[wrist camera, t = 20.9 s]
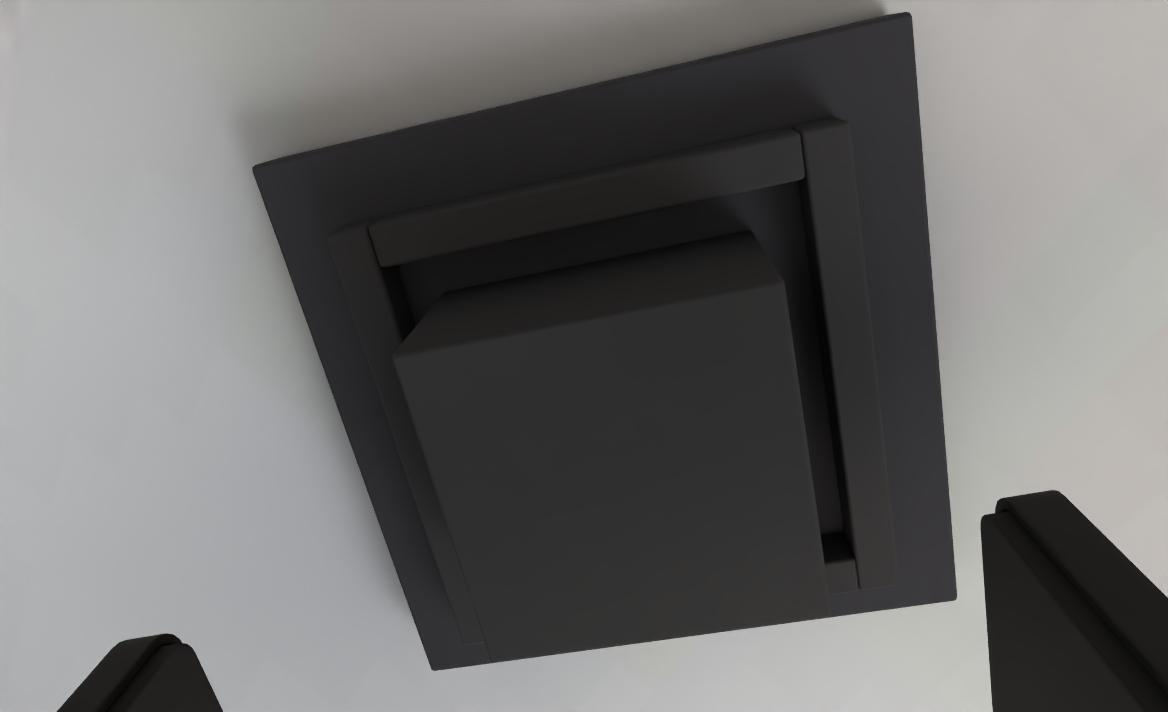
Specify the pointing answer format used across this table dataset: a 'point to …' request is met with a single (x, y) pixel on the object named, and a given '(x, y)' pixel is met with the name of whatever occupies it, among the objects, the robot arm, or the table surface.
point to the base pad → (641, 223)
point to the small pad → (621, 449)
